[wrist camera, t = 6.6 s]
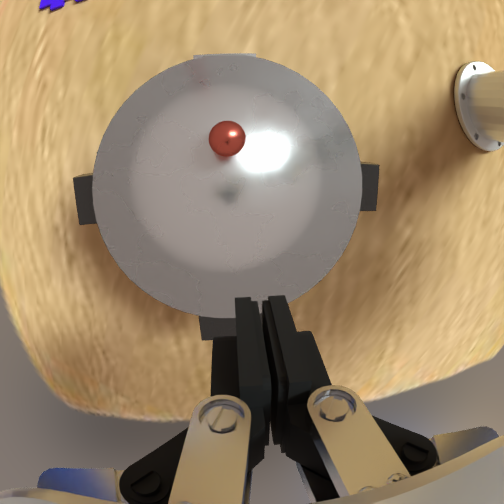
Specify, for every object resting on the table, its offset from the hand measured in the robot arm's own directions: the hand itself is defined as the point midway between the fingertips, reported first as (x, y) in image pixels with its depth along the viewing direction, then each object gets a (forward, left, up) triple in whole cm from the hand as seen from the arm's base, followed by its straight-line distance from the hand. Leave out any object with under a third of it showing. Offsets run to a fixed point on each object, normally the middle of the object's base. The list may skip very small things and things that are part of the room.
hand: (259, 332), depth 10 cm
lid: (+1, -2, -11) cm, 11 cm away
